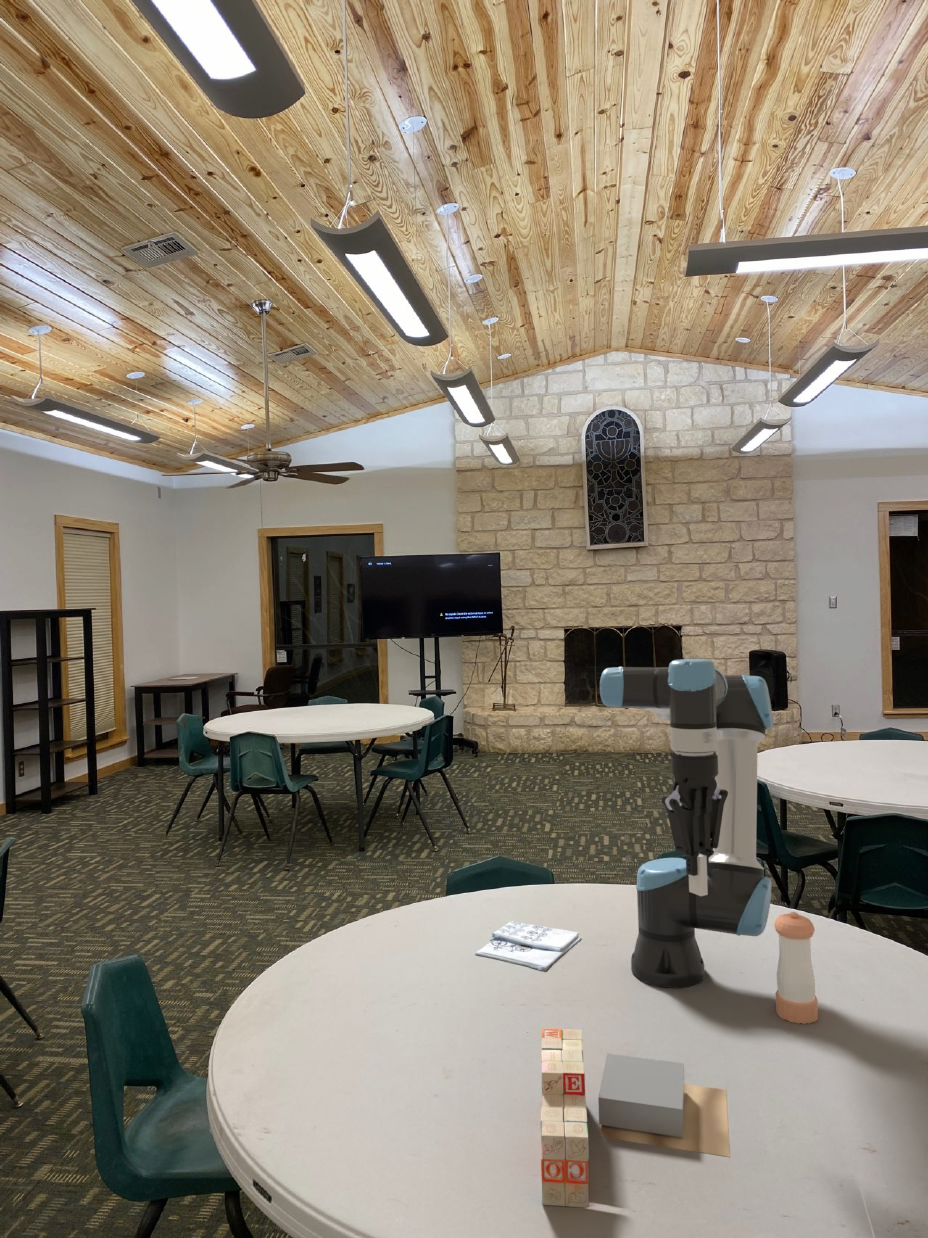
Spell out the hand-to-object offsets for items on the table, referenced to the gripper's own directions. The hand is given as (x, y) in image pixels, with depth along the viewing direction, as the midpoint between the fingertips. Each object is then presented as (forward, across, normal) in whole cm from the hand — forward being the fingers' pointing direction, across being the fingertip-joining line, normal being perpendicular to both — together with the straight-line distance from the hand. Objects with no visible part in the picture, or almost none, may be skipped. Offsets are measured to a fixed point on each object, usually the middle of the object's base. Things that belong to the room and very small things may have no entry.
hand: (698, 893), depth 131 cm
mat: (+29, -14, -6) cm, 33 cm away
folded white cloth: (+30, +2, +57) cm, 65 cm away
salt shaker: (+30, +28, +4) cm, 41 cm away
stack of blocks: (+30, -32, -5) cm, 44 cm away
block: (+26, -12, -8) cm, 30 cm away
